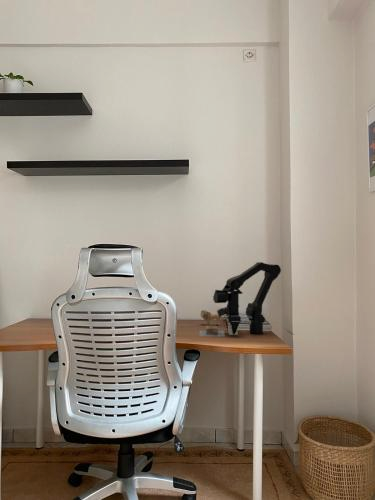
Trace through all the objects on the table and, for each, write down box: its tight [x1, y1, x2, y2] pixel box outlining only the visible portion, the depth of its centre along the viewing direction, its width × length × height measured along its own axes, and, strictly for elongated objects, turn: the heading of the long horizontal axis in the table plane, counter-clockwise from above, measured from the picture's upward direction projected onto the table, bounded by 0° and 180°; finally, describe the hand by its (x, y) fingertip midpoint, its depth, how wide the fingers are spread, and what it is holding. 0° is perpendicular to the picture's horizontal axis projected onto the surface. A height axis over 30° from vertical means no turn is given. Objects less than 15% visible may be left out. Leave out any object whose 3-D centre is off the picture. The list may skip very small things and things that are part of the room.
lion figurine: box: [200, 309, 226, 327], centre depth 228 cm, size 15×5×9 cm, turn 83°
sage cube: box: [227, 324, 239, 336], centre depth 201 cm, size 4×4×4 cm
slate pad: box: [199, 330, 226, 337], centre depth 201 cm, size 13×14×1 cm
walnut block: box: [205, 326, 219, 335], centre depth 201 cm, size 6×6×3 cm
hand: (233, 332), depth 201 cm, fingers open, 9 cm apart
